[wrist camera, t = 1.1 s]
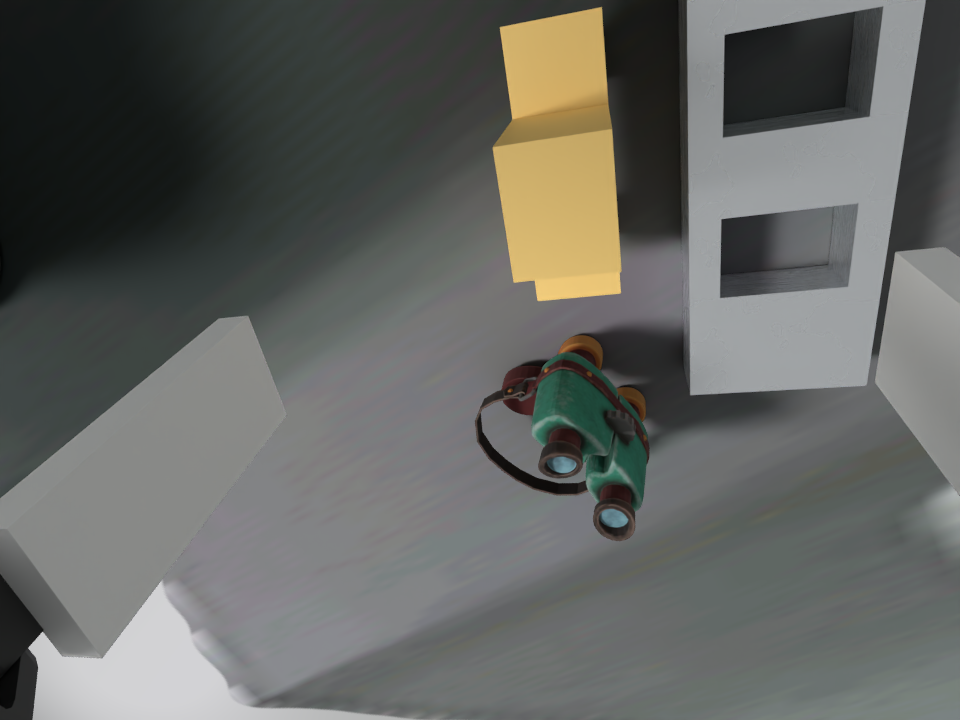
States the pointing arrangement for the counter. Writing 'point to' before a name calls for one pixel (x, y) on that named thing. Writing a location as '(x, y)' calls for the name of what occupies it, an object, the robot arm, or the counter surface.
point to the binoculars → (580, 432)
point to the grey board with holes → (790, 200)
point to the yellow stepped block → (559, 158)
